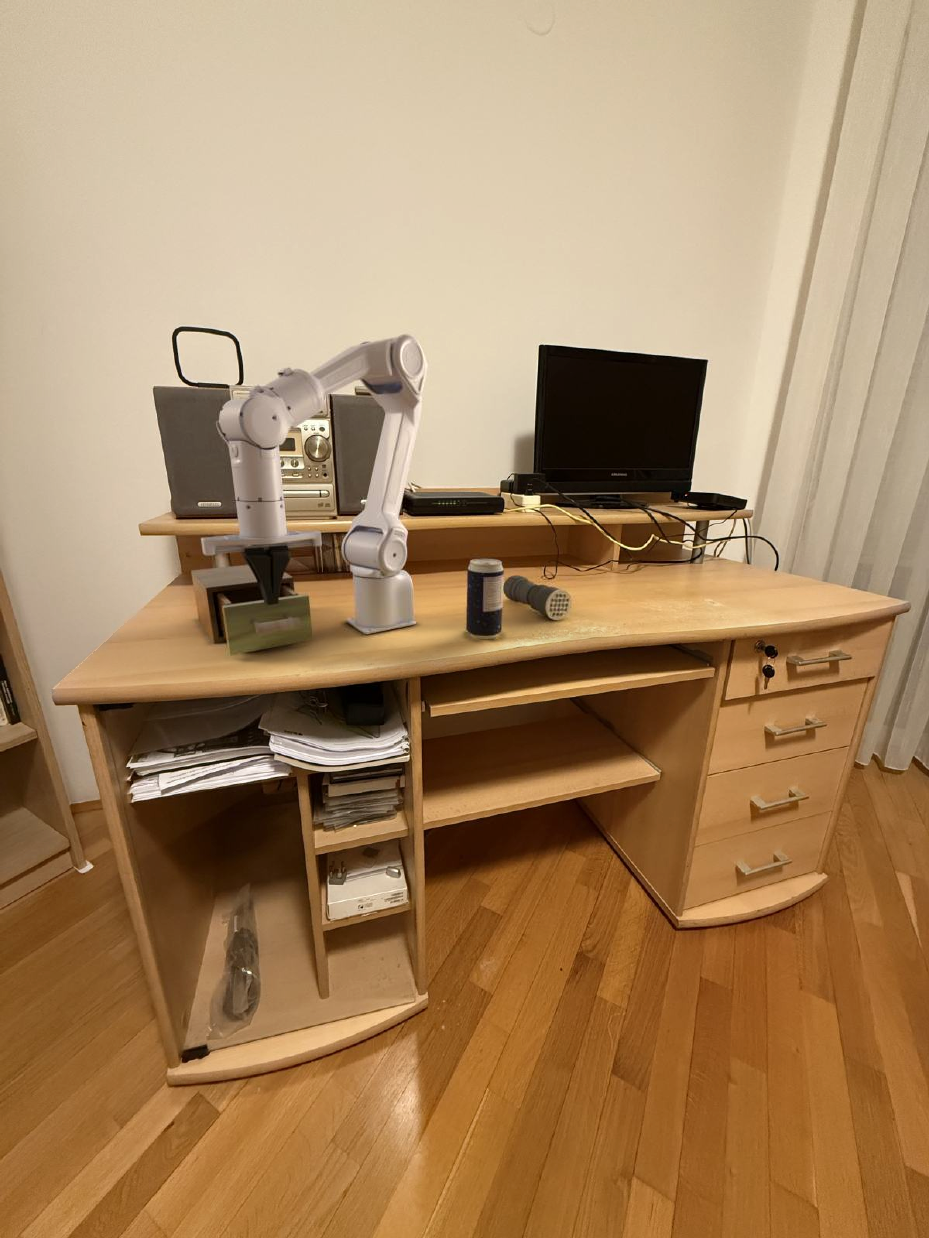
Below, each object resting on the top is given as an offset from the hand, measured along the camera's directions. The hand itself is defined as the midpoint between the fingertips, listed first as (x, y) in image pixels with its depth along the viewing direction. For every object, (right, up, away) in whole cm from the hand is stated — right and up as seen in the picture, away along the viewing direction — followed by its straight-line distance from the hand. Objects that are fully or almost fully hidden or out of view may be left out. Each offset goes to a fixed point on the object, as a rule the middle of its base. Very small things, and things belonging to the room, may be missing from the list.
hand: (271, 602), depth 66 cm
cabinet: (-10, -3, +16) cm, 19 cm away
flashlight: (+40, -1, +27) cm, 48 cm away
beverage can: (+29, -5, +13) cm, 32 cm away
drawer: (-3, -5, +6) cm, 9 cm away
